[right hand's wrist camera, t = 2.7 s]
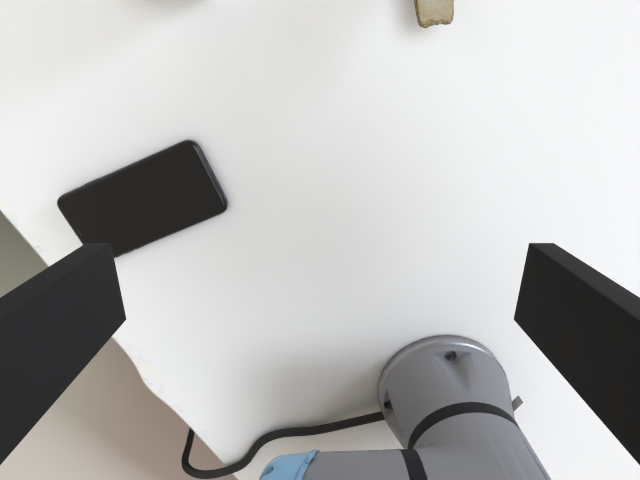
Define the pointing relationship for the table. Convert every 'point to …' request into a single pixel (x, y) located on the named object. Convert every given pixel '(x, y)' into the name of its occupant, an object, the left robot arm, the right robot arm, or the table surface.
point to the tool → (434, 12)
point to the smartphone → (145, 200)
